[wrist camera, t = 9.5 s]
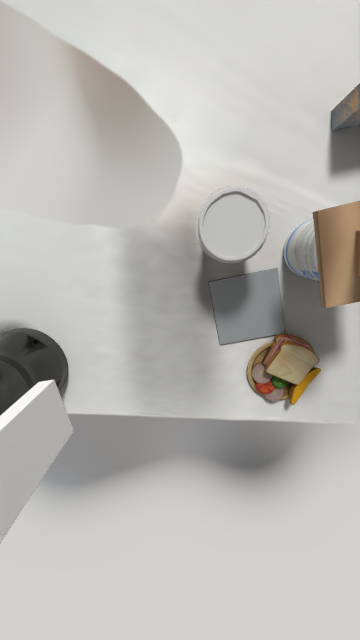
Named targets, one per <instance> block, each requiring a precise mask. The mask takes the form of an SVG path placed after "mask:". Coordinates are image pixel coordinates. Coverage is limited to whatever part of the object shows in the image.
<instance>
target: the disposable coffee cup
mask: <svg viewBox="0 0 360 640" xmlns="http://www.w3.org/2000/svg"><path fill="white" fill-rule="evenodd" d="M269 228H270V217H269V213H268V209H267V207H266V205H265V202H264V201H263V200H262V198H261V197H260V196H259V195H258V194H257V193H255V192H254V191H252V190H251V189H248V188H246V187H242V186H227V187H224V188H221V189H219V190H217V191H215V192H214V193H212V194H211V195H210V196H209V197H208V198H207V199H206V200H205V201H204V203H203V204H202V205H201V207H200V210H199V212H198V215H197V218H196V235H197V239H198V242H199V244H200V246H201V248H202V249H203V250H204V252H205V253H206V254H207V255H208V256H210V257H211V258H212V259H214V260H216V261H218V262H222V263H228V264H234V263H240V262H243V261H245V260H248V259H249V258H251V257H252V256H254V255H255V254H256V253H257V252H258V251H259V250H260V249H261V248H262V246H263V244H264V243H265V241H266V239H267V236H268V233H269Z"/></svg>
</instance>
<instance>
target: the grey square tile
mask: <svg viewBox="0 0 360 640" xmlns="http://www.w3.org/2000/svg"><path fill="white" fill-rule="evenodd" d="M209 287H210V293H211V298H212V304H213V309H214V314H215V320H216V325H217V331H218V336H219V342H220V345H221V344H227V343H232V342H238V341H243V340H249V339H255V338H260V337H266V336H271V335H277V334H283V333H285V330H284V321H283V312H282V303H281V295H280V286H279V277H278V268H275V269H270V270H265V271H260V272H255V273H250V274H245V275H240V276H236V277H231V278H226V279H221V280H216V281H211V282H209Z"/></svg>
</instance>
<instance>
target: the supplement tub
mask: <svg viewBox="0 0 360 640" xmlns="http://www.w3.org/2000/svg"><path fill="white" fill-rule="evenodd" d="M284 258H285V261H286V264H287V266H288V267H289V269H290V270H291V271H292V272H294V273H295V274H297V275H299V276H301V277H305V278H308V279H312V280H316V281H319V276H318V265H317V254H316V243H315V232H314V221H313V219H311V220H308V221H305V222H303V223H301V224H300V225H298V226H297V227H296V228H295V229H294V230H293V231H292V232H291V233H290V234H289V236H288V238H287V240H286V243H285V246H284Z"/></svg>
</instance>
